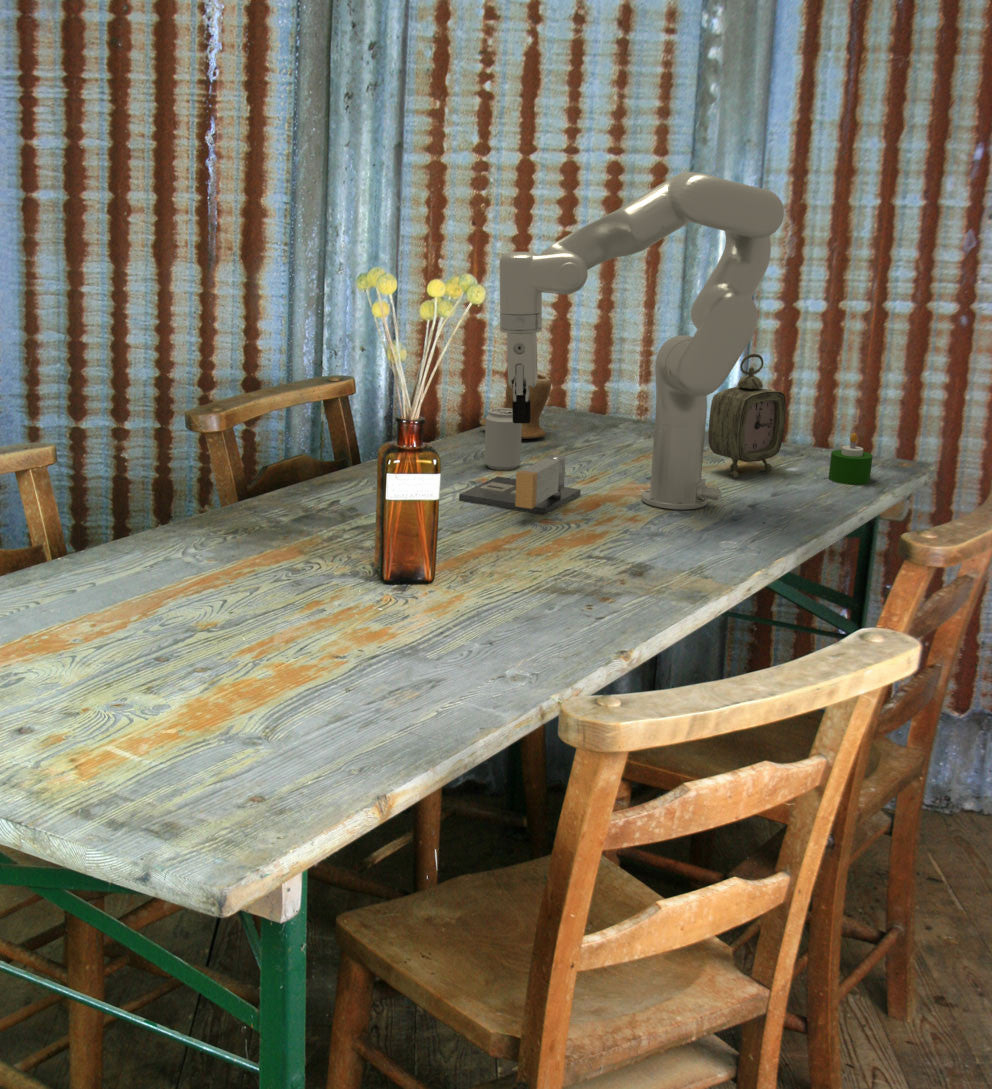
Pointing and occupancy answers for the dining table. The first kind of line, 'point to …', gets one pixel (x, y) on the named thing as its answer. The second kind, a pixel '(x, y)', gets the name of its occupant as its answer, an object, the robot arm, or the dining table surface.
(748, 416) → the tabletop clock
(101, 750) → the dining table surface
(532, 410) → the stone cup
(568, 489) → the dark grey flat slab
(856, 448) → the candle
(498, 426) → the can
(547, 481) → the grey block tan end
